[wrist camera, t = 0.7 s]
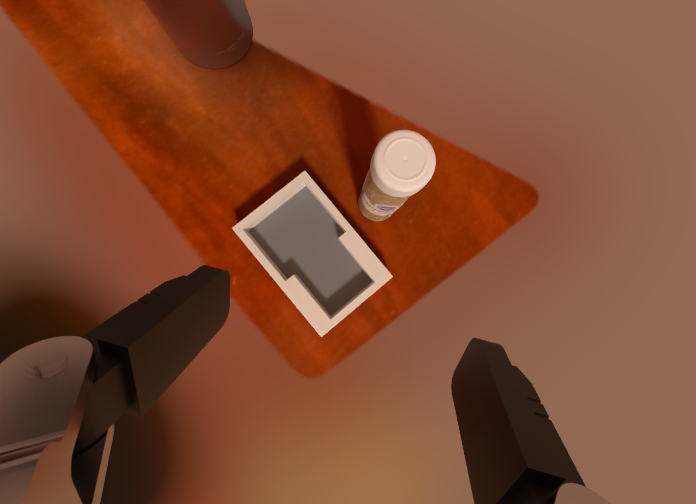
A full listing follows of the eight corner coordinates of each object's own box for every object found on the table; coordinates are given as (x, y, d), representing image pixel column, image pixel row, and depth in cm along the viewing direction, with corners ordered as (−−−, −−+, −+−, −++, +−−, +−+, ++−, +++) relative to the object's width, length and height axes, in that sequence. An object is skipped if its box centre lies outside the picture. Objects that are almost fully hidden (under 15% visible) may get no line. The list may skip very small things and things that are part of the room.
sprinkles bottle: (361, 225, 33) (380, 196, 19) (354, 187, 33) (367, 133, 19) (399, 217, 33) (443, 184, 19) (391, 180, 33) (430, 122, 20)
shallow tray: (239, 231, 32) (231, 228, 29) (307, 177, 32) (305, 170, 30) (322, 331, 32) (321, 337, 29) (388, 275, 32) (392, 276, 30)
